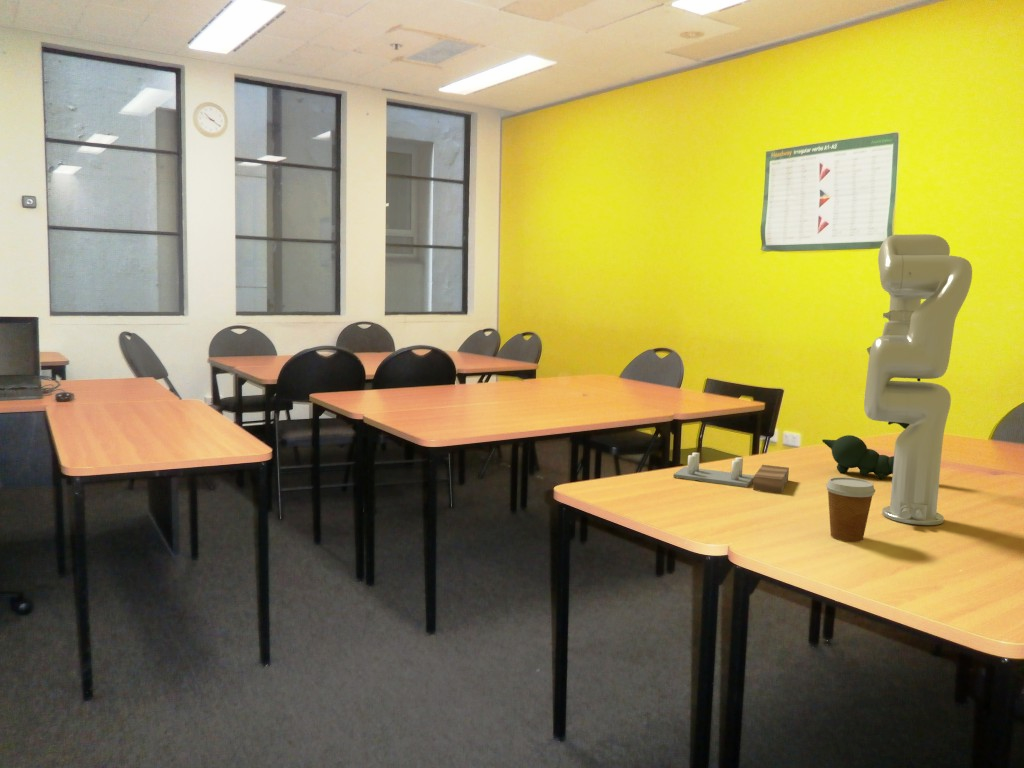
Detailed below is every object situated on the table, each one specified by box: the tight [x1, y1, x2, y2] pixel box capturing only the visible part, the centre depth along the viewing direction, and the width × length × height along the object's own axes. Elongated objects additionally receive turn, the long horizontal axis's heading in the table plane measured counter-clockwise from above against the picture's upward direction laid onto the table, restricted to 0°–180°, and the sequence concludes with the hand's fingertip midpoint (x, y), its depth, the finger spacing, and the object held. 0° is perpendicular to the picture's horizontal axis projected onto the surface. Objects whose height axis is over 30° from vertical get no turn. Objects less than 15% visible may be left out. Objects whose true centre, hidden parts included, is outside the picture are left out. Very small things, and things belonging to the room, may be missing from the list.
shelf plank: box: [752, 464, 790, 494], centre depth 205 cm, size 16×7×4 cm, turn 154°
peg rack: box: [673, 452, 754, 488], centre depth 211 cm, size 11×20×6 cm, turn 62°
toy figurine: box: [821, 422, 910, 480], centre depth 218 cm, size 9×19×25 cm
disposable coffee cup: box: [825, 476, 876, 543], centre depth 160 cm, size 10×10×12 cm
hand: (899, 379), depth 211 cm, fingers open, 9 cm apart
